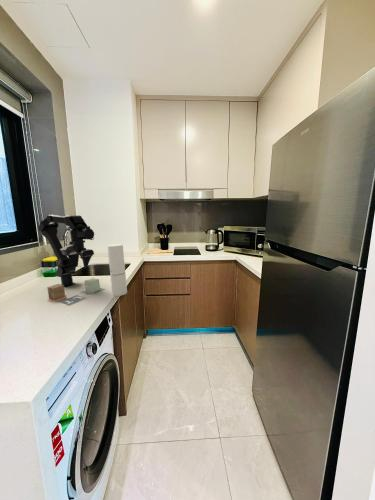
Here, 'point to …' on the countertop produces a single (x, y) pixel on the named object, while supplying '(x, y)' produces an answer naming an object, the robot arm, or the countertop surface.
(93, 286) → the sage block
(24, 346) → the countertop surface
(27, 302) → the countertop surface
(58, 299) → the coaster
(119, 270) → the tall white block
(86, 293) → the code tile
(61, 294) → the walnut block
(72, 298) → the tile
